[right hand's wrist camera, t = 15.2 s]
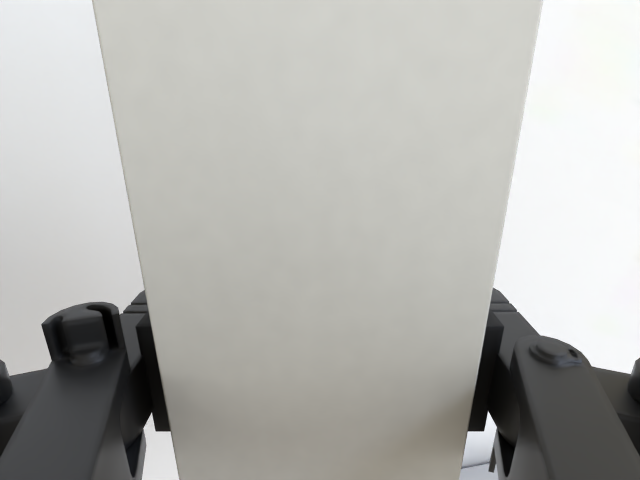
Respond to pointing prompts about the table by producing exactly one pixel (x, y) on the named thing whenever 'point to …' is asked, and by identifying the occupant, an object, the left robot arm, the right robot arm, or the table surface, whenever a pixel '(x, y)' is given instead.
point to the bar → (318, 221)
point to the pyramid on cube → (478, 473)
